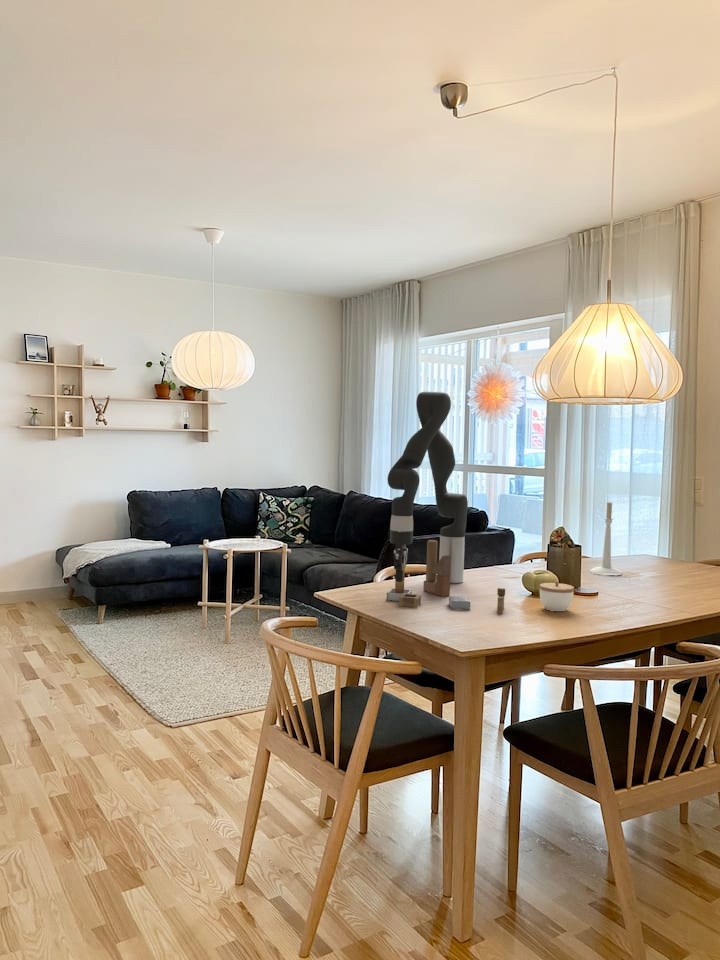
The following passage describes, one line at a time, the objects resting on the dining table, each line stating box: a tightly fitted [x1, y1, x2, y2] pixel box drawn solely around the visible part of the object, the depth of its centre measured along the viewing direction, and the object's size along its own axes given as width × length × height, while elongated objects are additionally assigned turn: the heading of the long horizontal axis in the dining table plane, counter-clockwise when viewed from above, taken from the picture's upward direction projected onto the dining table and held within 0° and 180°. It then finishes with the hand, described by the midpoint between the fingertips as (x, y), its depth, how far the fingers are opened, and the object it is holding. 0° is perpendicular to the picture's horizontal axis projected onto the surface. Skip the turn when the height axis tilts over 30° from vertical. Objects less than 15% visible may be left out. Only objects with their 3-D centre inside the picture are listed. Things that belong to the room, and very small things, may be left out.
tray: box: [385, 587, 413, 602], centre depth 249 cm, size 8×7×2 cm
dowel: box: [394, 563, 406, 594], centre depth 248 cm, size 3×3×10 cm
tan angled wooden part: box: [422, 539, 451, 597], centre depth 259 cm, size 4×11×18 cm, turn 31°
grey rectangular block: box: [448, 595, 472, 611], centre depth 239 cm, size 7×6×3 cm
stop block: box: [496, 587, 506, 615], centre depth 236 cm, size 9×2×7 cm, turn 166°
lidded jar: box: [539, 580, 575, 612], centre depth 240 cm, size 11×11×9 cm
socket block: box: [398, 593, 422, 608], centre depth 240 cm, size 6×6×3 cm
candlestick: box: [589, 501, 622, 573], centre depth 309 cm, size 13×13×30 cm
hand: (399, 580), depth 248 cm, fingers closed on dowel, 3 cm apart
